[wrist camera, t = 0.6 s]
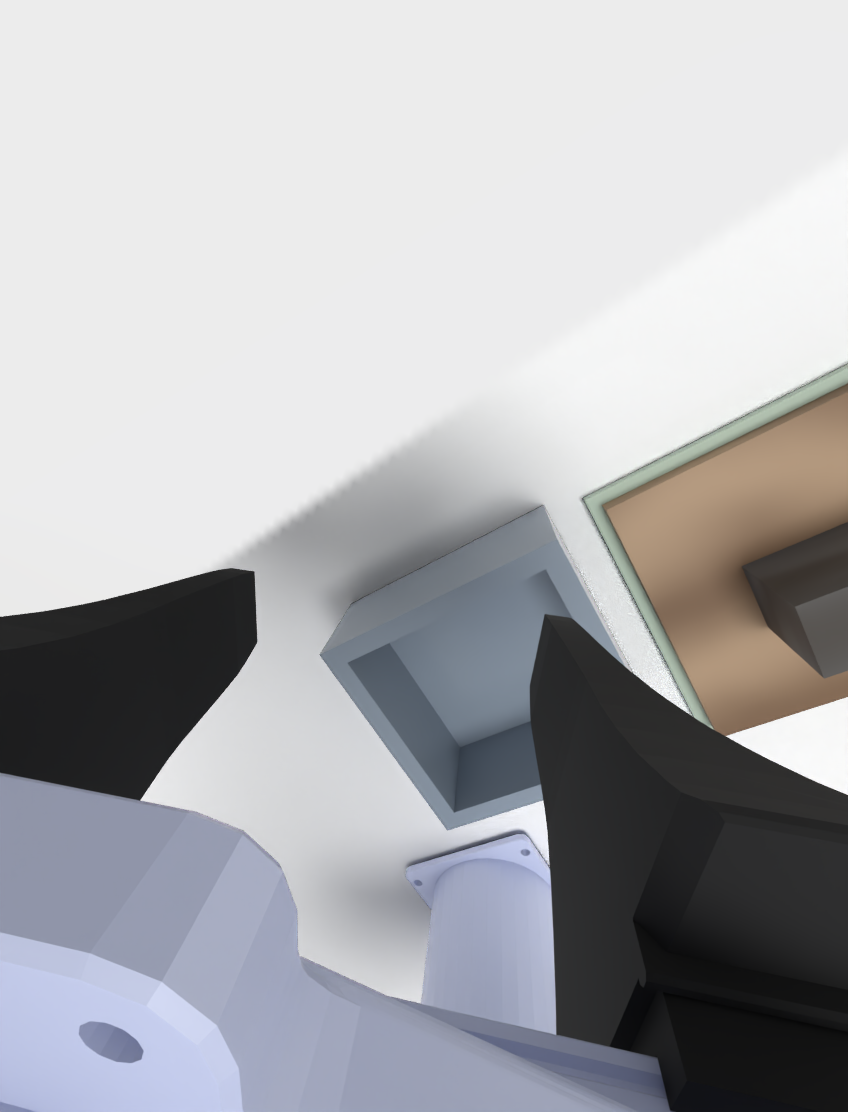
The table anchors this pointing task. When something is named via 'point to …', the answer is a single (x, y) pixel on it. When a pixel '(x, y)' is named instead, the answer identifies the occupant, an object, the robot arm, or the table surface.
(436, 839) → the table surface
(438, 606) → the slate dish
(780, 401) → the sage mat
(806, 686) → the walnut lid
